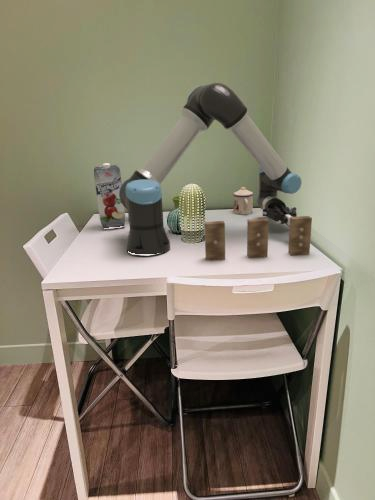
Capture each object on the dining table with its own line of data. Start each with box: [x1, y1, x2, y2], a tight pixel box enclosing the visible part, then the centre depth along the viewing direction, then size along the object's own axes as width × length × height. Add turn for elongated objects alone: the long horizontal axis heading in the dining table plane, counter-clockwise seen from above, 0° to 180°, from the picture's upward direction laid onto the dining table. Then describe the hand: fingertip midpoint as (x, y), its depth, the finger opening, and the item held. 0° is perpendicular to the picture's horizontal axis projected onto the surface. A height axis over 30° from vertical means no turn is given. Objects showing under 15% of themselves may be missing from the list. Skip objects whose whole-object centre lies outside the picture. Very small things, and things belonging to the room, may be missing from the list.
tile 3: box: [288, 215, 312, 256], centre depth 117 cm, size 6×3×12 cm, turn 93°
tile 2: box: [246, 217, 270, 259], centre depth 116 cm, size 6×3×12 cm, turn 93°
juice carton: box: [93, 162, 126, 229], centre depth 154 cm, size 9×10×27 cm
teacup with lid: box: [232, 186, 254, 215], centre depth 169 cm, size 12×9×12 cm
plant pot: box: [171, 195, 180, 210], centre depth 170 cm, size 9×9×9 cm
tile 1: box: [204, 220, 226, 261], centre depth 116 cm, size 6×3×12 cm, turn 93°
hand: (293, 223), depth 123 cm, fingers closed
